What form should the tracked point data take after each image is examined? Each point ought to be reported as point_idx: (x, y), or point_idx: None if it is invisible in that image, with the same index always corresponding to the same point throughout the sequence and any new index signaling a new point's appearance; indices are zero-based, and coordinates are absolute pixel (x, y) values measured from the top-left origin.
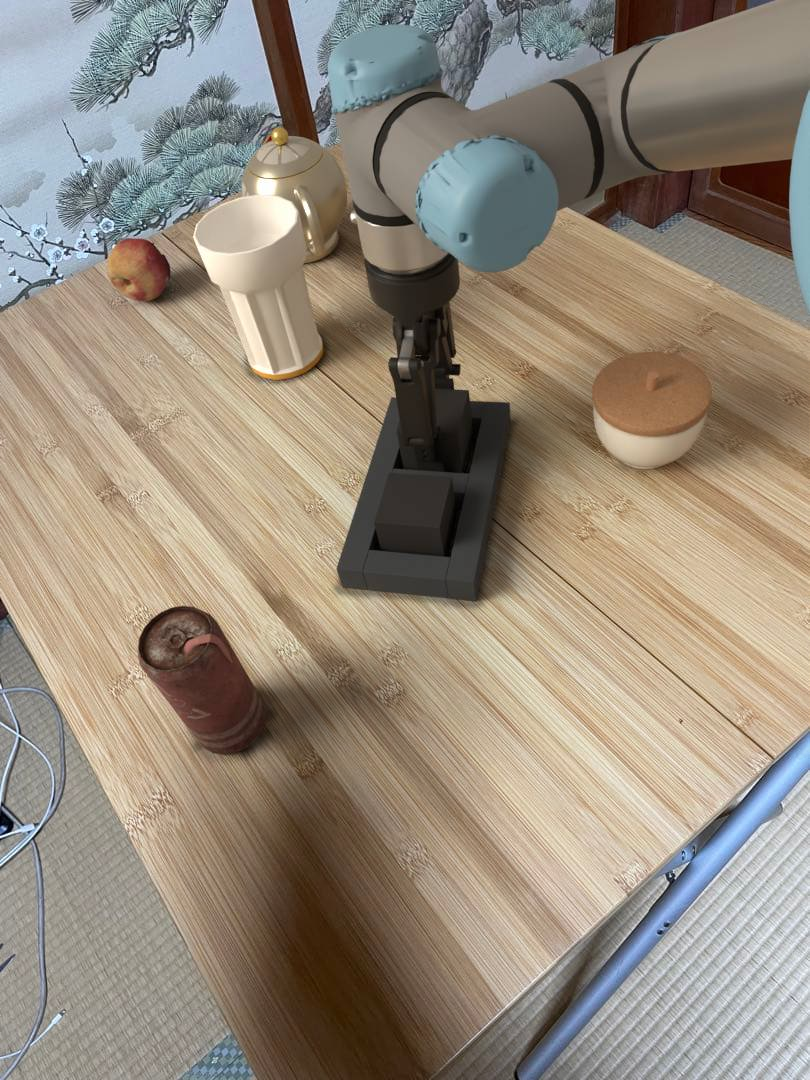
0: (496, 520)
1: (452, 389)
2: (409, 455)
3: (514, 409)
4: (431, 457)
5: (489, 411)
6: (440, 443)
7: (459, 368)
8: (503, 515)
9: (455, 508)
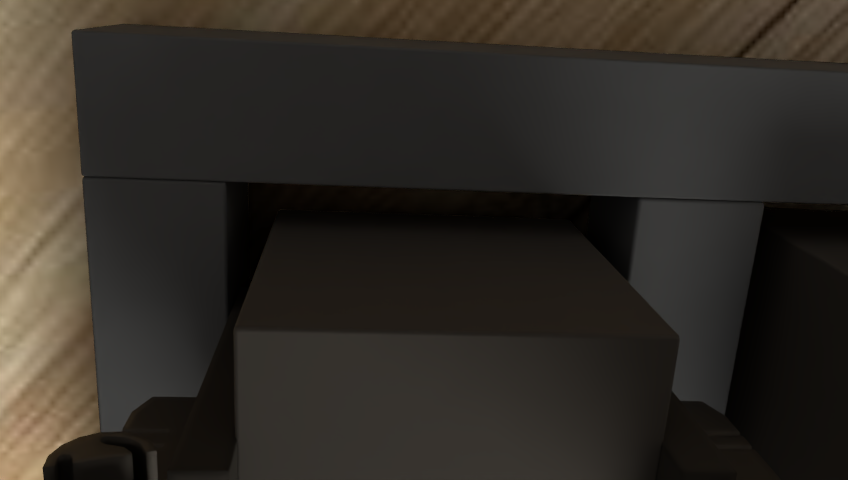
0: (748, 37)
1: (237, 438)
2: None
3: (10, 12)
4: (737, 434)
5: (166, 144)
6: (690, 417)
7: (88, 460)
8: (722, 8)
9: (782, 229)
